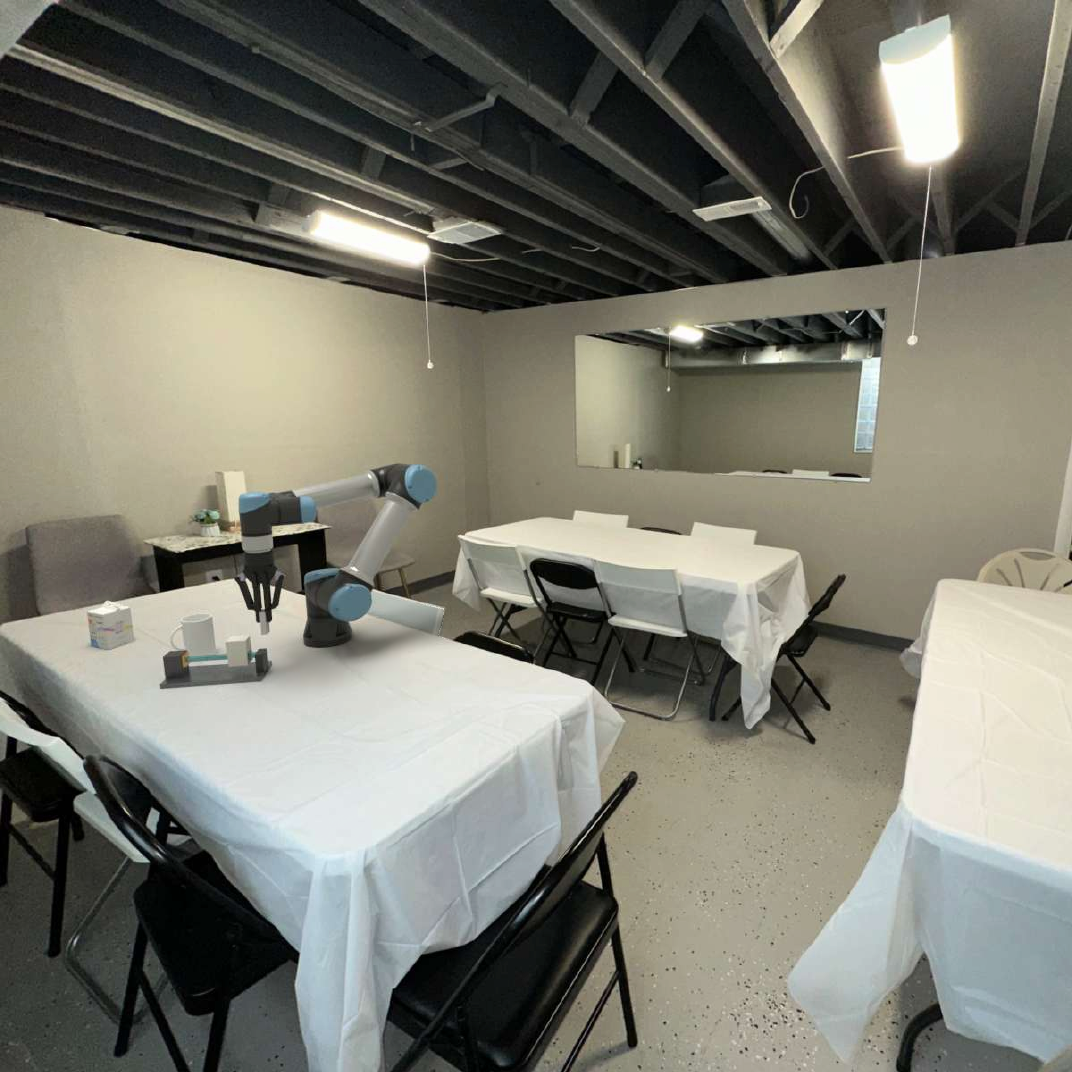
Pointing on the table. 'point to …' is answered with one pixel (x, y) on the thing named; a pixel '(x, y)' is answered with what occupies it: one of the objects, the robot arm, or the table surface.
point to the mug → (197, 635)
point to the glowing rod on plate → (211, 669)
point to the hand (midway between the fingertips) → (265, 633)
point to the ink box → (110, 626)
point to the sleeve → (238, 650)
